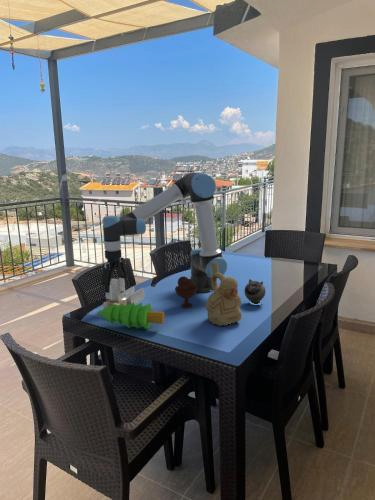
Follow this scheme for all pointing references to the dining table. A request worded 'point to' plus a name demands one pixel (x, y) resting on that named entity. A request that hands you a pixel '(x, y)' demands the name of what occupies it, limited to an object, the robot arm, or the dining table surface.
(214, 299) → the ceramic vessel
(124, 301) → the socket
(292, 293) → the dining table surface
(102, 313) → the decorative tree
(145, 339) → the dining table surface
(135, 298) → the channel
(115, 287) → the shiny silver metal piece
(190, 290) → the ice cream bowl
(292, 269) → the dining table surface
